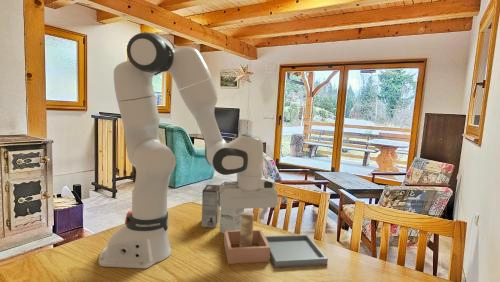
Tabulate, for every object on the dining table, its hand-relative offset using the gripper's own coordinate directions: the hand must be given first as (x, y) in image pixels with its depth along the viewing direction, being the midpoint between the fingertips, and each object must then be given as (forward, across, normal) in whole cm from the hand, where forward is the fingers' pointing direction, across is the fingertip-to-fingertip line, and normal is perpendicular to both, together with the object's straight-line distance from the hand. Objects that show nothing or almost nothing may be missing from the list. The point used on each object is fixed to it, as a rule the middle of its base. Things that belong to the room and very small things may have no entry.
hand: (248, 219), depth 101 cm
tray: (+12, +16, -2) cm, 21 cm away
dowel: (+12, -1, 0) cm, 12 cm away
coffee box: (+12, -12, +26) cm, 31 cm away
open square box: (+12, -1, 0) cm, 12 cm away
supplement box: (+12, -4, +17) cm, 21 cm away
